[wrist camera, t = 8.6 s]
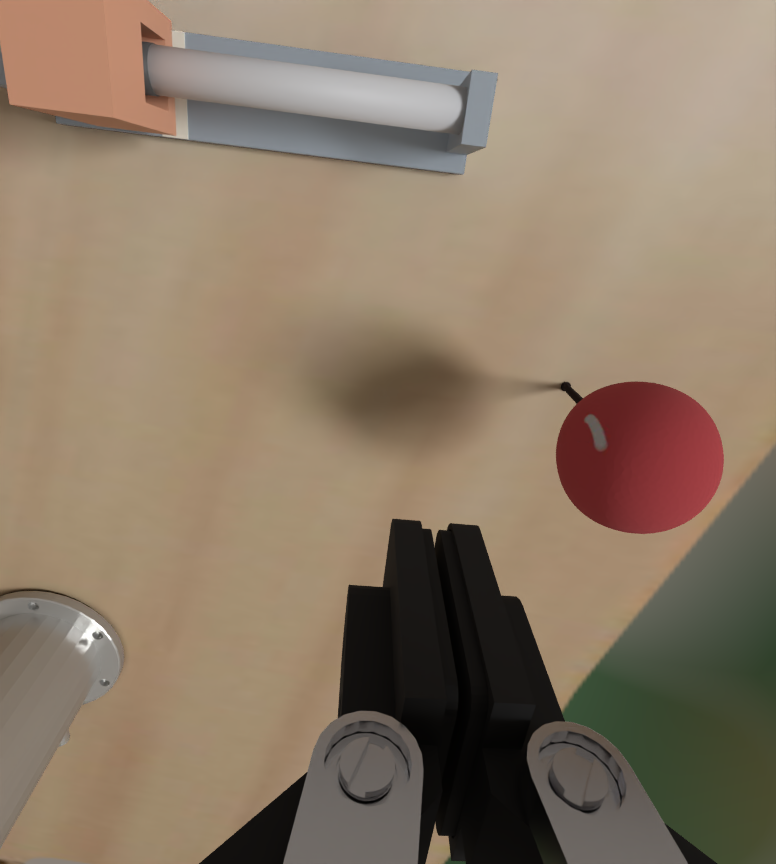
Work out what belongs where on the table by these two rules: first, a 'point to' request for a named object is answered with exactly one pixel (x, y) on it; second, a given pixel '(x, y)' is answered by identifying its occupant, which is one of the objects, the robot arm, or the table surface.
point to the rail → (333, 128)
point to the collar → (85, 61)
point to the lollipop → (639, 456)
